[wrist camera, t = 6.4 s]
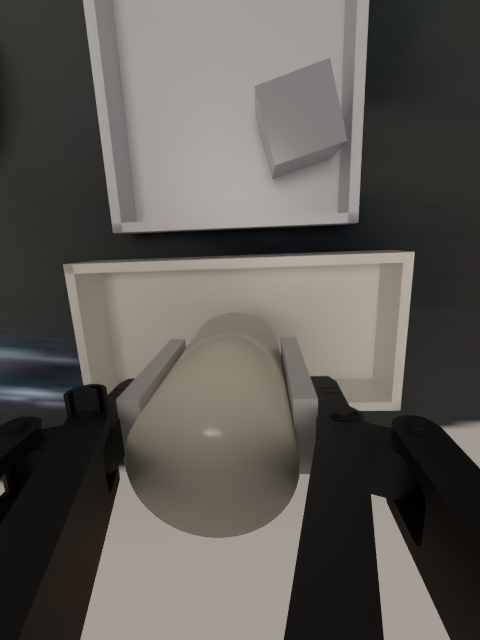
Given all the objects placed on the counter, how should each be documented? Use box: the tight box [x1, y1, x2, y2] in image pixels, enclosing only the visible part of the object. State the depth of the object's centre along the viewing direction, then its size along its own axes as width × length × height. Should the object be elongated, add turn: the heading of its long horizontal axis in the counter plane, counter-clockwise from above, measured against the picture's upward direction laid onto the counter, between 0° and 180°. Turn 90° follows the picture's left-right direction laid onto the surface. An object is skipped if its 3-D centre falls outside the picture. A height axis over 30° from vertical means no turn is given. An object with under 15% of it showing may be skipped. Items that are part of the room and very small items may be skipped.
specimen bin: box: [63, 250, 415, 411], centre depth 22 cm, size 21×10×4 cm, turn 92°
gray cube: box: [254, 58, 348, 179], centre depth 19 cm, size 4×4×4 cm
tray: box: [83, 0, 369, 234], centre depth 18 cm, size 15×23×3 cm, turn 2°
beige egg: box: [125, 312, 300, 538], centre depth 13 cm, size 5×5×9 cm
